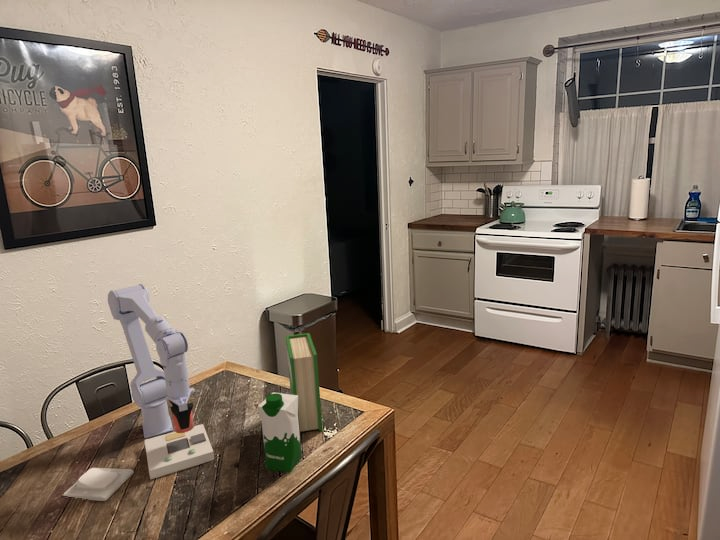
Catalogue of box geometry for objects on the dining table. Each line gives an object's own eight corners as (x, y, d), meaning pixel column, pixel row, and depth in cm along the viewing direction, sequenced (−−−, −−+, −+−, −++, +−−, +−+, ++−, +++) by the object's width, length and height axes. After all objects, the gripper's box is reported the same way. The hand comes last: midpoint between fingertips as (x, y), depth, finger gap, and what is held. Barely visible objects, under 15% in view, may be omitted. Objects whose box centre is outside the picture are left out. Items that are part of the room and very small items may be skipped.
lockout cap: (172, 426, 136) (170, 408, 134) (192, 420, 138) (189, 403, 137) (175, 435, 131) (172, 417, 130) (195, 429, 134) (193, 411, 132)
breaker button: (168, 451, 136) (167, 444, 135) (187, 446, 138) (186, 438, 138) (170, 461, 132) (169, 453, 131) (190, 455, 134) (188, 447, 133)
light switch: (89, 459, 129) (131, 460, 127) (92, 473, 130) (134, 474, 128) (56, 486, 119) (102, 488, 116) (61, 501, 120) (106, 503, 117)
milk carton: (261, 470, 126) (253, 399, 121) (277, 450, 134) (271, 383, 130) (291, 476, 123) (285, 403, 118) (307, 455, 131) (301, 386, 127)
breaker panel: (145, 447, 138) (144, 438, 138) (203, 431, 145) (202, 422, 145) (150, 479, 124) (148, 468, 124) (214, 459, 131) (213, 449, 131)
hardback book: (322, 431, 142) (316, 354, 137) (297, 435, 141) (290, 358, 135) (314, 402, 159) (309, 333, 153) (291, 406, 158) (285, 335, 152)
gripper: (196, 384, 127) (203, 431, 130) (187, 364, 139) (193, 407, 142) (167, 391, 123) (175, 439, 127) (161, 370, 136) (168, 414, 139)
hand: (183, 423), depth 134 cm, fingers closed on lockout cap, 5 cm apart
